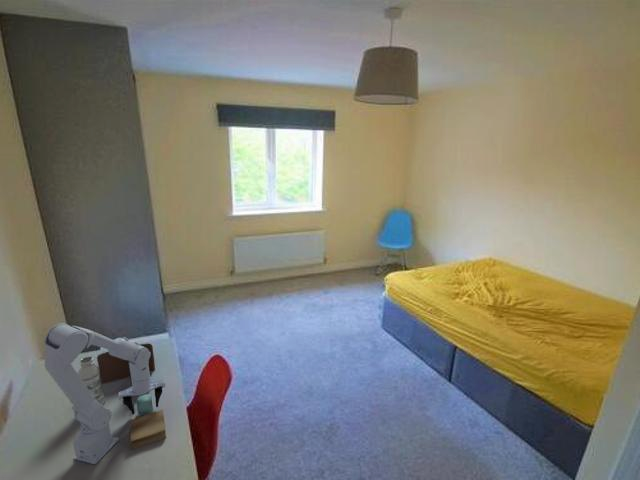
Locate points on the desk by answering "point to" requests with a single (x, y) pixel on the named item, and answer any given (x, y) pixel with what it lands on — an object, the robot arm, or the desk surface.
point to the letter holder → (119, 366)
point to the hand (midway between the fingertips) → (145, 408)
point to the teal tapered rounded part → (144, 405)
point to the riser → (147, 429)
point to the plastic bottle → (91, 378)
